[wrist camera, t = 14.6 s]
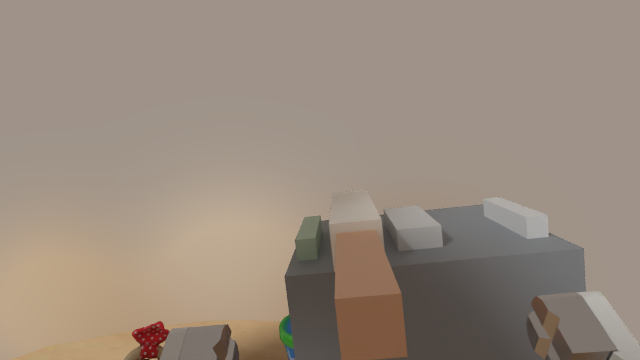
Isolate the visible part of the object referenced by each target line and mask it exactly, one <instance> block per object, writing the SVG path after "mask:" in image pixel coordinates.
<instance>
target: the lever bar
mask: <svg viewBox="0 0 640 360" xmlns="http://www.w3.org/2000/svg"><path fill="white" fill-rule="evenodd" d="M329 219H330V220H329V231H330V240H331V249H332V258H333V266H334V272H335V308H336V317H337V326H338V335H339V344H340V352H341V360H375V359H387V358H400V357H408V356H407V346H406V336H405V325H404V315H403V304H402V294H401V291H400V288H399V286H398V283H397V281H396V278H395V276H394V273H393V271H392V268H391V266H390V263H389V261H388V258H387V256H386V253H385V249H384V239H383V229H382V219H381V217H380V215H379V213H378V211H377V209H376V208H375V206H374V204H373V202H372V200H371V198H370V196H369V194H368V192H367V190H356V191H347V192H337V193H333V194H332V202H331V211H330V218H329Z"/></svg>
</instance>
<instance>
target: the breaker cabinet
mask: <svg viewBox="0 0 640 360" xmlns="http://www.w3.org/2000/svg"><path fill="white" fill-rule="evenodd" d="M380 217H381V219H382V229H383V239H384V249H385V253H386V256H387V258H388V261H389V263H390V266H391V268H392V271H393V273H394V276H395V278H396V281H397V283H398V286H399V288H400V291H401V294H402V304H403V315H404V325H405V336H406V346H407V356H408V357H400V358H387V359H375V360H545V359H544V358H542V357H541V356H540V355H539V354H537V353H536V352H535V351H534V349H533V347H532V345H531V343H530V340H529V337H528V334H527V326H526V322H527V318H528V315H529V314H530V313H532V312H533V311H534V309H533V307H532V305H531V304H532V300H533V298H535V297H536V296H542V295H551V294H561V293H570V292H575V293H576V292H585V291H586V287H585V266H584V248H581V247H579V246H577V245H575V244H572V243H571V242H568V241H566V240H564V239H562V238H559V237H557V236H555V235H553V234H551V233H548V216H547V215H546V214H543V213H541V212H538V211H535V210H533V209H530V208H527V207H524V206H522V205H519V204H516V203H514V202H511V201H508V200H506V199H503V198H500V197H498V198H488V199H483V205H473V206H464V207H453V208H444V209H434V210H422V209H421V208H420V207H419V206H410V207H400V208H390V209H384V215H380ZM295 243H296V249H295V252H294V254H293V256H292V259H291V262H290V264H289V267H288V270H287V272H286V274H285V283H286V290H287V299H288V307H289V315H290V323H291V331H292V339H293V347H294V355H295V360H341V352H340V344H339V335H338V326H337V317H336V308H335V272H334V266H333V258H332V249H331V240H330V231H329V220H326V221H321V216H312V217H305V218H304V220H303V223H302V225H301V228H300V230H299V232H298V234H297V237H296V239H295Z"/></svg>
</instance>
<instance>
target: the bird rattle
mask: <svg viewBox="0 0 640 360" xmlns="http://www.w3.org/2000/svg"><path fill="white" fill-rule="evenodd" d="M169 333H170V331H169V330H166V329H164V325H163V323H162V322H161V321H159V322H157V323H155V324H151V325H149V326H147V327H143V328H140V329H136V330H134V331H133V333H132V336H133V337H134V338H135V340H136V341H137V342H138V343H139V344H140V346H139V347H137V348H136V349H134V350H133V351H131V352H130V353H129V354H128V355H127V356H126V357H125V359H124V360H139V359H141V360H149V359H152V358H157V359H158V360H160V357H161V354H162V351H163V347H161V346H159V344H160V343H162V342H164V341H165V340H166V339H167V336H168V334H169ZM145 358H149V359H145Z"/></svg>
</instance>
